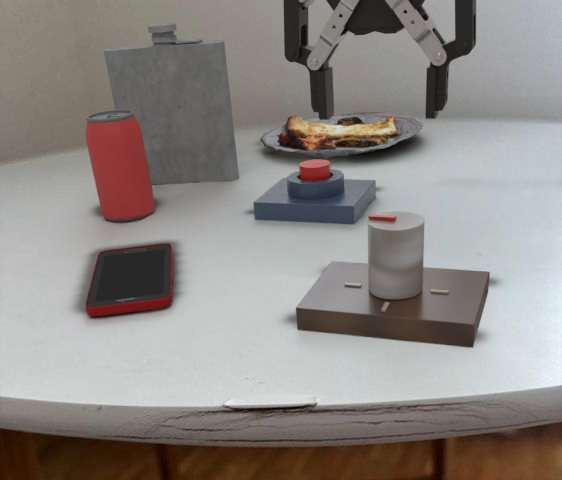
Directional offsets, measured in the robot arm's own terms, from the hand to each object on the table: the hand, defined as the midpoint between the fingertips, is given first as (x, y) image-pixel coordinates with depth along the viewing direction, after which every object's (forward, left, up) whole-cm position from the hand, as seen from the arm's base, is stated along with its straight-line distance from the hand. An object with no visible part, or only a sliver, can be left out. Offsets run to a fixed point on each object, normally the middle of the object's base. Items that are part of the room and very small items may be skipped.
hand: (378, 117), depth 55 cm
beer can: (+36, -15, -15) cm, 41 cm away
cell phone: (+24, +4, -15) cm, 28 cm away
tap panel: (-2, +5, -15) cm, 15 cm away
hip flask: (+36, -30, -15) cm, 49 cm away
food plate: (+19, -51, -15) cm, 56 cm away
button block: (+13, -20, -15) cm, 28 cm away
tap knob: (-2, +5, -13) cm, 14 cm away
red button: (+13, -20, -11) cm, 26 cm away
